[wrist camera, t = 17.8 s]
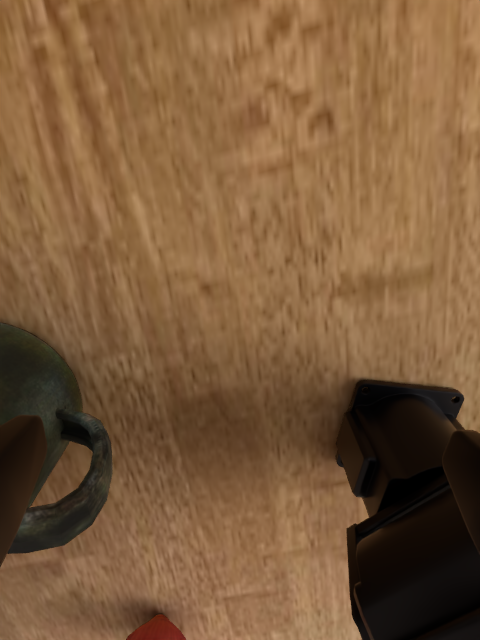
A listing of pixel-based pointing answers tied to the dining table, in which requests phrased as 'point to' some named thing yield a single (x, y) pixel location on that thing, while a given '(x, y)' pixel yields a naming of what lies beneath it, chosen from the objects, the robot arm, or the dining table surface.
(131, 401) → the dining table surface
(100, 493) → the mug
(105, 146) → the dining table surface
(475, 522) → the robot arm
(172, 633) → the onion
